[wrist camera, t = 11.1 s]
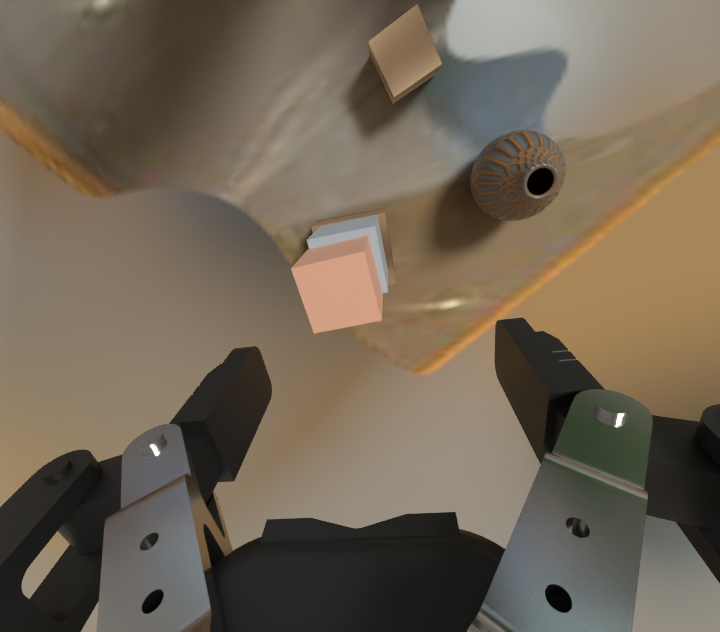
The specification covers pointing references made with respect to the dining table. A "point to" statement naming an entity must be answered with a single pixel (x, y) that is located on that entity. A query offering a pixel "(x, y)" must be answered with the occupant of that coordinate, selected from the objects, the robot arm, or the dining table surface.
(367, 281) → the terracotta cube
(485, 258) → the dining table surface
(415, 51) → the maple block
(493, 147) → the vase
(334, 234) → the slate cube
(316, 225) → the walnut slab
